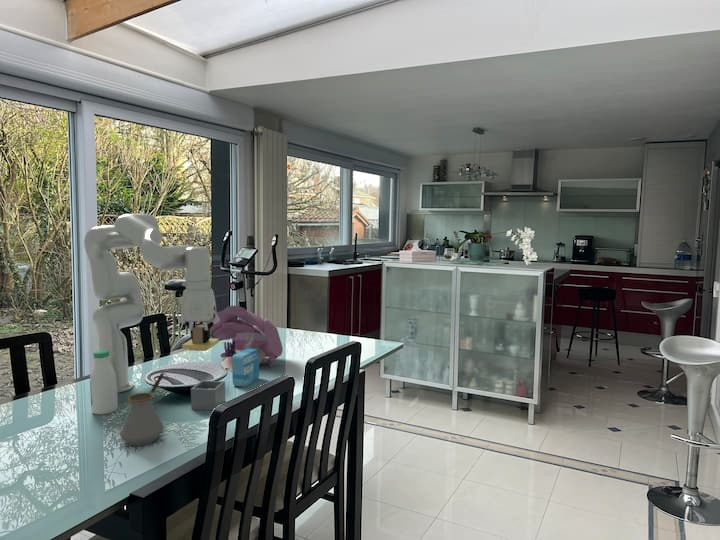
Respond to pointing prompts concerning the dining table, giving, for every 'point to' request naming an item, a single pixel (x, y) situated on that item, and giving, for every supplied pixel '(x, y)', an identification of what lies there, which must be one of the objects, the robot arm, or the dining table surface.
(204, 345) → the lid
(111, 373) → the milk bottle
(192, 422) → the dining table surface
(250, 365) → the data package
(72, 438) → the dining table surface
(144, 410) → the coffee pot
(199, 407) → the box
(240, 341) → the pink curved piece
